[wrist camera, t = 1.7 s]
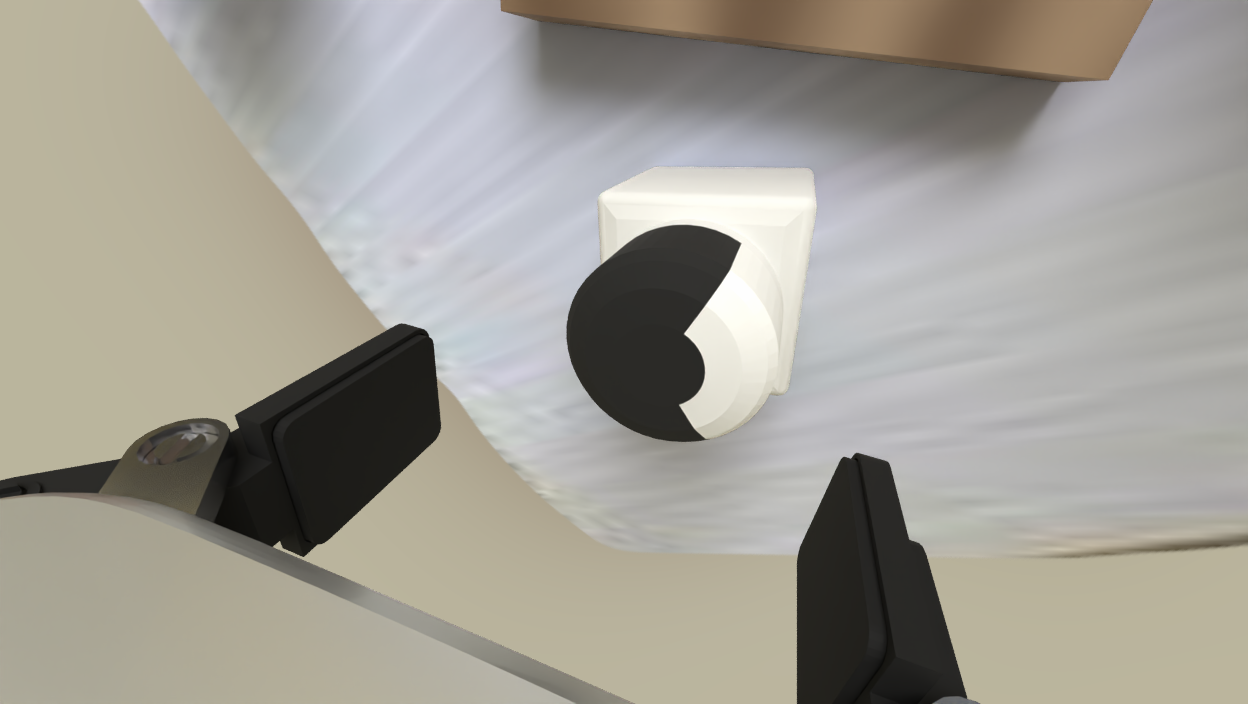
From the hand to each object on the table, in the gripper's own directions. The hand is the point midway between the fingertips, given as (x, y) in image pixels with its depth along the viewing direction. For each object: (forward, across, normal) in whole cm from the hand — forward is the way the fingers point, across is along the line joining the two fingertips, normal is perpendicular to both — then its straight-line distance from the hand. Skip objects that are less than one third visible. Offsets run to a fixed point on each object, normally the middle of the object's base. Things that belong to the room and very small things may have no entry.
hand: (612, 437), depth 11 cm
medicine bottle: (+15, 0, -1) cm, 15 cm away
